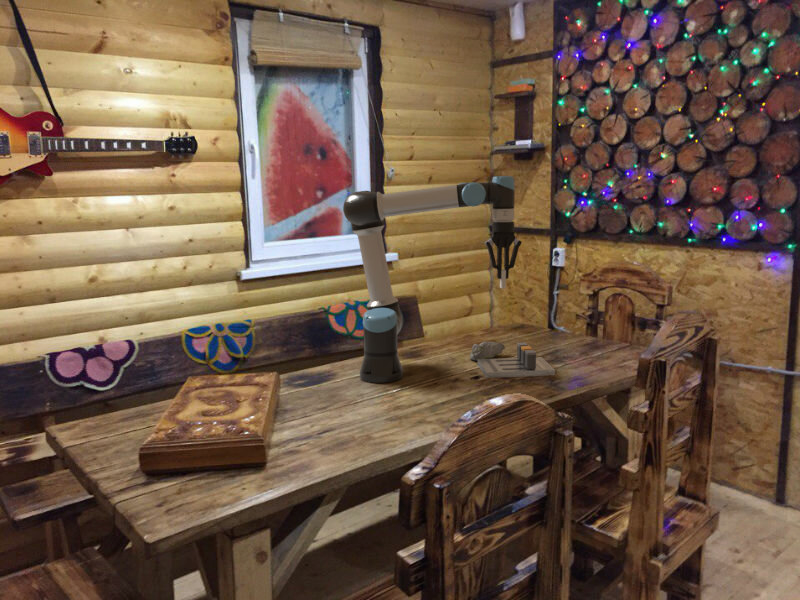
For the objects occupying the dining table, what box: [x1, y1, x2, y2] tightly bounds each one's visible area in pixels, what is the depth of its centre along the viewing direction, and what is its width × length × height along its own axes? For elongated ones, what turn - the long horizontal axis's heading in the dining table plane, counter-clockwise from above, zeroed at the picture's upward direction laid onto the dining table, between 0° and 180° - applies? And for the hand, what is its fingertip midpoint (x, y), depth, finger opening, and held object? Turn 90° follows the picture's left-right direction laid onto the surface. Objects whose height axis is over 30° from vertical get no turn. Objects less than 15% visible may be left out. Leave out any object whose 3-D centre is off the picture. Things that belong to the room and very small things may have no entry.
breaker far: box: [516, 342, 529, 361], centre depth 238 cm, size 3×4×6 cm
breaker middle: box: [521, 345, 533, 365], centre depth 233 cm, size 3×4×6 cm
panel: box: [477, 356, 556, 379], centre depth 233 cm, size 24×17×2 cm
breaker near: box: [525, 349, 537, 369], centre depth 227 cm, size 3×4×6 cm
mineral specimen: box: [469, 340, 506, 362], centre depth 250 cm, size 16×7×7 cm, turn 121°
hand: (502, 287), depth 231 cm, fingers closed
